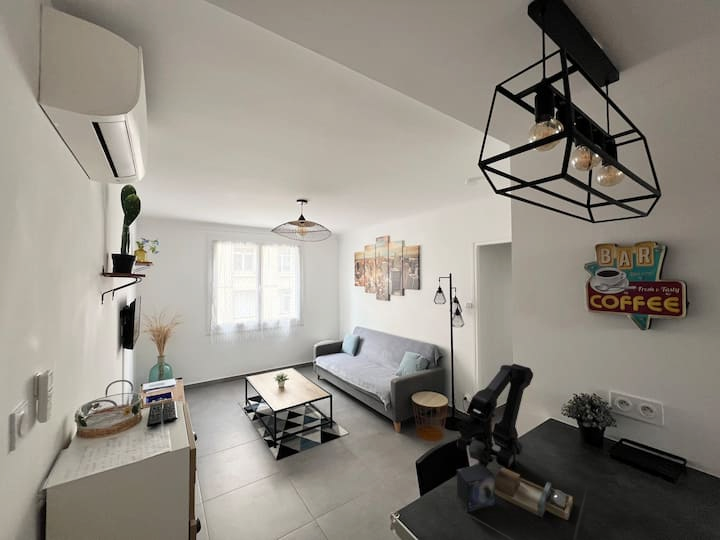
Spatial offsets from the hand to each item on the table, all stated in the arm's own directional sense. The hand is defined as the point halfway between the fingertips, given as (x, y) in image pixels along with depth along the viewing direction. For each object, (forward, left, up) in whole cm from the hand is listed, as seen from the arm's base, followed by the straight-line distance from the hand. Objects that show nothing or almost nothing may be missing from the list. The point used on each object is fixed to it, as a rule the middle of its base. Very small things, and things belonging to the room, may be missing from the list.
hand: (484, 472), depth 109 cm
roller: (-2, +23, 0) cm, 23 cm away
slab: (0, +8, -1) cm, 8 cm away
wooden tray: (0, +15, -2) cm, 15 cm away
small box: (+14, +3, -2) cm, 14 cm away
